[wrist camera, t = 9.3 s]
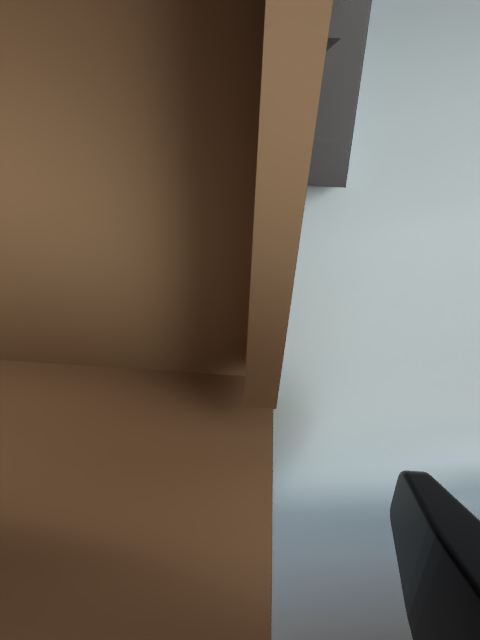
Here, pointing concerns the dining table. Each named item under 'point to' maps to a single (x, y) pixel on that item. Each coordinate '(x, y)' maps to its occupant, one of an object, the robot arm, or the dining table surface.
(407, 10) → the dining table surface
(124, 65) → the brown wooden ramp
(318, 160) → the fulcrum
